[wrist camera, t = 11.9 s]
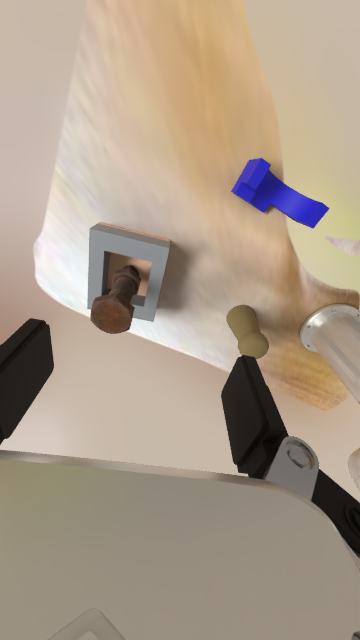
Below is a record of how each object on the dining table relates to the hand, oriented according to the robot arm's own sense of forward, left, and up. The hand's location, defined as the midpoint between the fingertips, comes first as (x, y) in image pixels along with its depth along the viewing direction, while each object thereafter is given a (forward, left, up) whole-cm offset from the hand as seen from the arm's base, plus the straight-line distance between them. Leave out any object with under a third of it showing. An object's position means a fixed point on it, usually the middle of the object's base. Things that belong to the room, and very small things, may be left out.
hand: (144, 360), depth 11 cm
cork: (-19, +14, -32) cm, 40 cm away
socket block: (+5, +9, -32) cm, 33 cm away
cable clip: (-15, -9, -32) cm, 36 cm away
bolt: (+5, +9, -31) cm, 32 cm away
